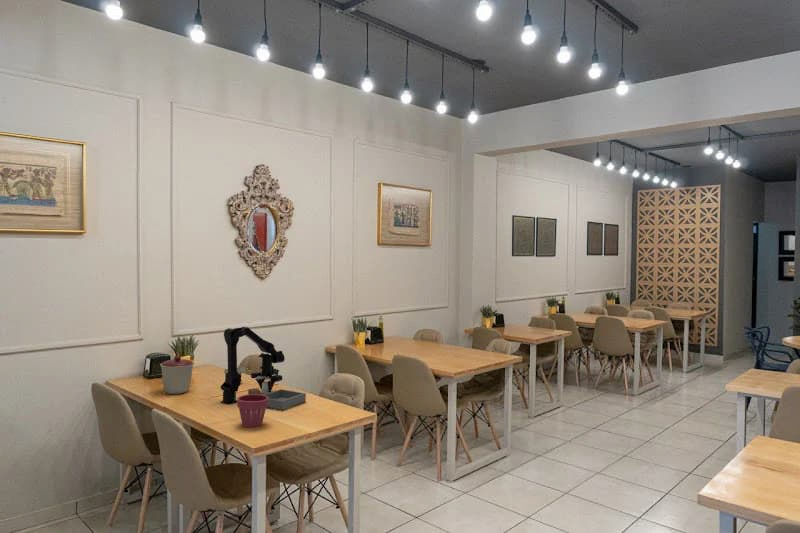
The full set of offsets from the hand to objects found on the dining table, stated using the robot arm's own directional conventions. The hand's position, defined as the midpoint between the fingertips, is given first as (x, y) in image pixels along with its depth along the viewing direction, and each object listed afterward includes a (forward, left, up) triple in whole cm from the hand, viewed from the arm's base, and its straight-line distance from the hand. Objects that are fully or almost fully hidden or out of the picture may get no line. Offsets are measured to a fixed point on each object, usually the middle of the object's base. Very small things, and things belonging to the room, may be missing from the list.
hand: (266, 391), depth 312 cm
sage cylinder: (0, 0, -2) cm, 2 cm away
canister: (-23, +46, -2) cm, 52 cm away
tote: (-11, -20, -2) cm, 23 cm away
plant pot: (-46, -31, -2) cm, 56 cm away
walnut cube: (-10, 0, -2) cm, 10 cm away
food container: (+9, +32, -2) cm, 33 cm away
